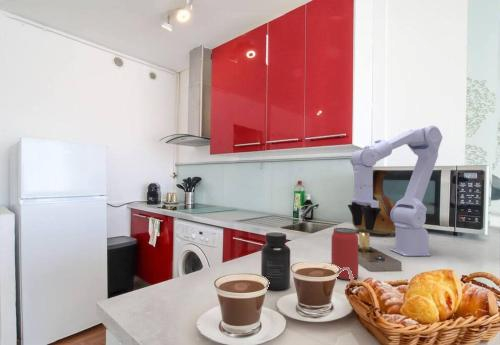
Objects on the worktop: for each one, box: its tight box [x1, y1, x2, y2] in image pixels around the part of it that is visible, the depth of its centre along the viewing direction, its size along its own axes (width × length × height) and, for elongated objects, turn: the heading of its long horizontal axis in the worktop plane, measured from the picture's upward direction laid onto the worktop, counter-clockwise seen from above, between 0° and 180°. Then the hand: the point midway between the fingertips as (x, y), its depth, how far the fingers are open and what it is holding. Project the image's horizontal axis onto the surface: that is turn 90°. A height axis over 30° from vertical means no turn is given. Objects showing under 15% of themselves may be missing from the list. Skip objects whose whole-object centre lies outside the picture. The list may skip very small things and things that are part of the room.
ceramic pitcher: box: [351, 169, 396, 236], centre depth 125 cm, size 20×20×30 cm
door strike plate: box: [358, 244, 403, 272], centre depth 85 cm, size 24×9×3 cm, turn 4°
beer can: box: [331, 227, 359, 281], centre depth 70 cm, size 7×7×12 cm
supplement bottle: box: [260, 231, 291, 292], centre depth 63 cm, size 7×7×12 cm
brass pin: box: [358, 231, 370, 253], centre depth 85 cm, size 3×3×8 cm
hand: (363, 227), depth 88 cm, fingers open, 7 cm apart
